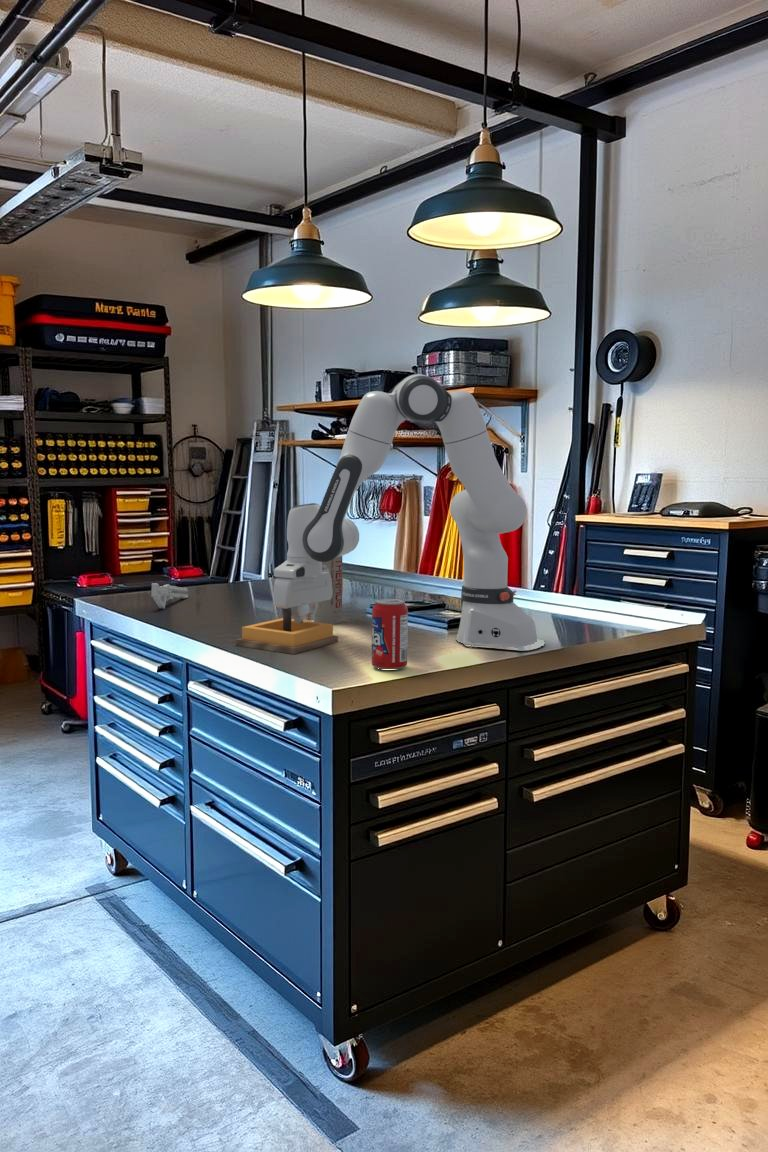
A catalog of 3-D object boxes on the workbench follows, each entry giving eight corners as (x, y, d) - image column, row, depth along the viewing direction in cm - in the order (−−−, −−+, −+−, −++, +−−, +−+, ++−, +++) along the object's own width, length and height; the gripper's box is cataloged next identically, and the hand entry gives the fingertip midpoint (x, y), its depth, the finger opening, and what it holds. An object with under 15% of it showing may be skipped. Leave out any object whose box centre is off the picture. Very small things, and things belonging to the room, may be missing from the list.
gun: (150, 608, 264) (151, 582, 265) (182, 610, 294) (183, 586, 294) (156, 608, 264) (157, 582, 264) (188, 610, 294) (189, 587, 294)
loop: (332, 636, 223) (332, 624, 223) (293, 646, 210) (293, 634, 209) (283, 629, 232) (283, 617, 231) (242, 639, 218) (241, 627, 218)
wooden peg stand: (337, 641, 223) (337, 581, 221) (293, 654, 208) (293, 589, 206) (281, 634, 233) (281, 575, 231) (235, 645, 218) (234, 582, 216)
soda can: (408, 672, 192) (409, 603, 190) (372, 672, 191) (372, 603, 189) (405, 664, 199) (406, 598, 198) (370, 664, 199) (371, 598, 197)
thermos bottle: (347, 622, 251) (348, 523, 248) (324, 625, 246) (325, 524, 243) (331, 618, 257) (331, 522, 254) (308, 621, 252) (308, 523, 249)
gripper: (319, 563, 235) (318, 614, 236) (269, 570, 217) (269, 626, 219) (338, 564, 231) (338, 617, 233) (289, 572, 214) (289, 628, 216)
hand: (304, 621), depth 226 cm, fingers open, 3 cm apart
